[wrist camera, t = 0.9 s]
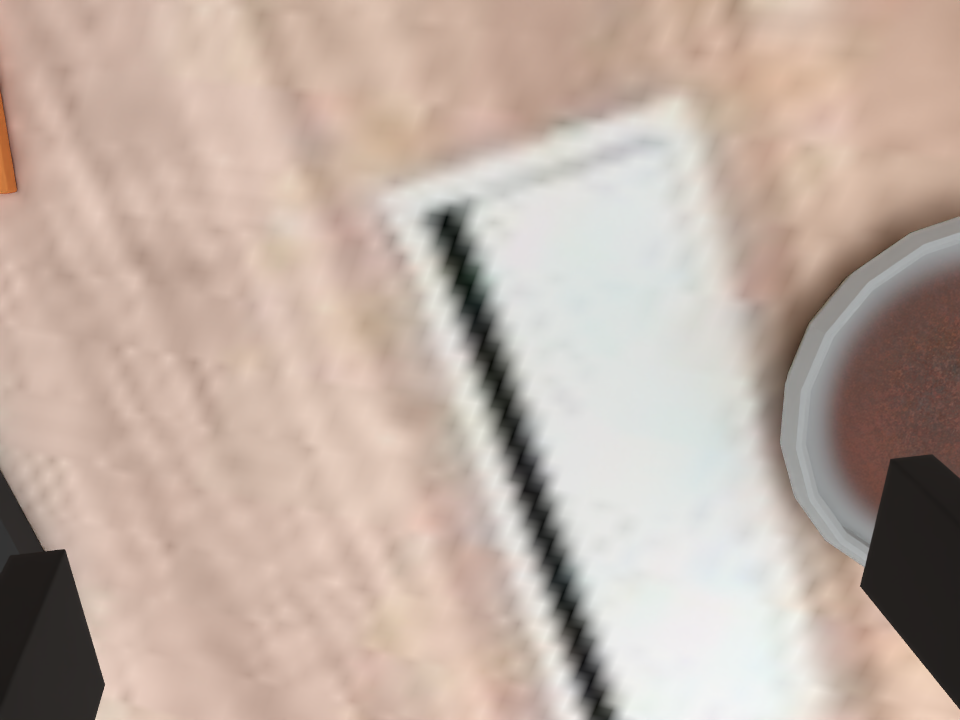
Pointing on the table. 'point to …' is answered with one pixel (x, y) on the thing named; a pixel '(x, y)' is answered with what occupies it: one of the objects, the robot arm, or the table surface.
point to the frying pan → (875, 384)
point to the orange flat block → (5, 158)
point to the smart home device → (14, 527)
